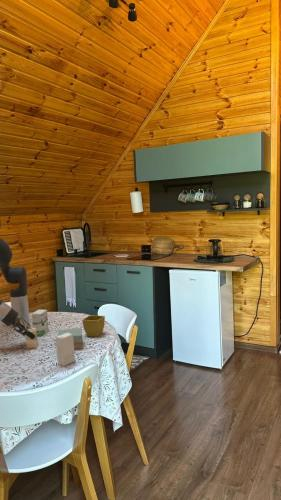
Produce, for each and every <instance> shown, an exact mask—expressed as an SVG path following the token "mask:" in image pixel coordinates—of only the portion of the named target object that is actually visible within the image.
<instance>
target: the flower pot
mask: <svg viewBox="0 0 281 500" xmlns="http://www.w3.org/2000/svg"><path fill="white" fill-rule="evenodd" d="M105 317H106V316H105V315H94V314H89V315H88V316H86V317H85V318H83V319H81V322H82V326H83V330H84V332H85V334H86V335H87V336H88V337H96V338H97V337H99V336H100V335H101V334H102V333H103V331H104V327H105V320H106V318H105Z"/></svg>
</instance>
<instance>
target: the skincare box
mask: <svg viewBox="0 0 281 500" xmlns="http://www.w3.org/2000/svg"><path fill="white" fill-rule="evenodd" d="M55 341H56V343H55V344H56V345H55V346H56V356H57V357H56V358H57V364H58V365H60V366H63V367H64V366H68V365H69V364H72V363H73V362H75V361H76V358H75V357H76V355H75V350H74V342H73V334H70V333H65V334H62V335H59V336H58V335H57V336H55Z"/></svg>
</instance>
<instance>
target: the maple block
mask: <svg viewBox="0 0 281 500" xmlns="http://www.w3.org/2000/svg"><path fill="white" fill-rule="evenodd" d="M31 328H32V329H28V330H29V331H30V332H31V333H33V334H34V335H35V338H34V339H31V338H29V337H28V336H27V335H25V342H26V343H25V345H26V349H36V348H38V345H39V343H38V336H37V330H36V328H33V327H31Z"/></svg>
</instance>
